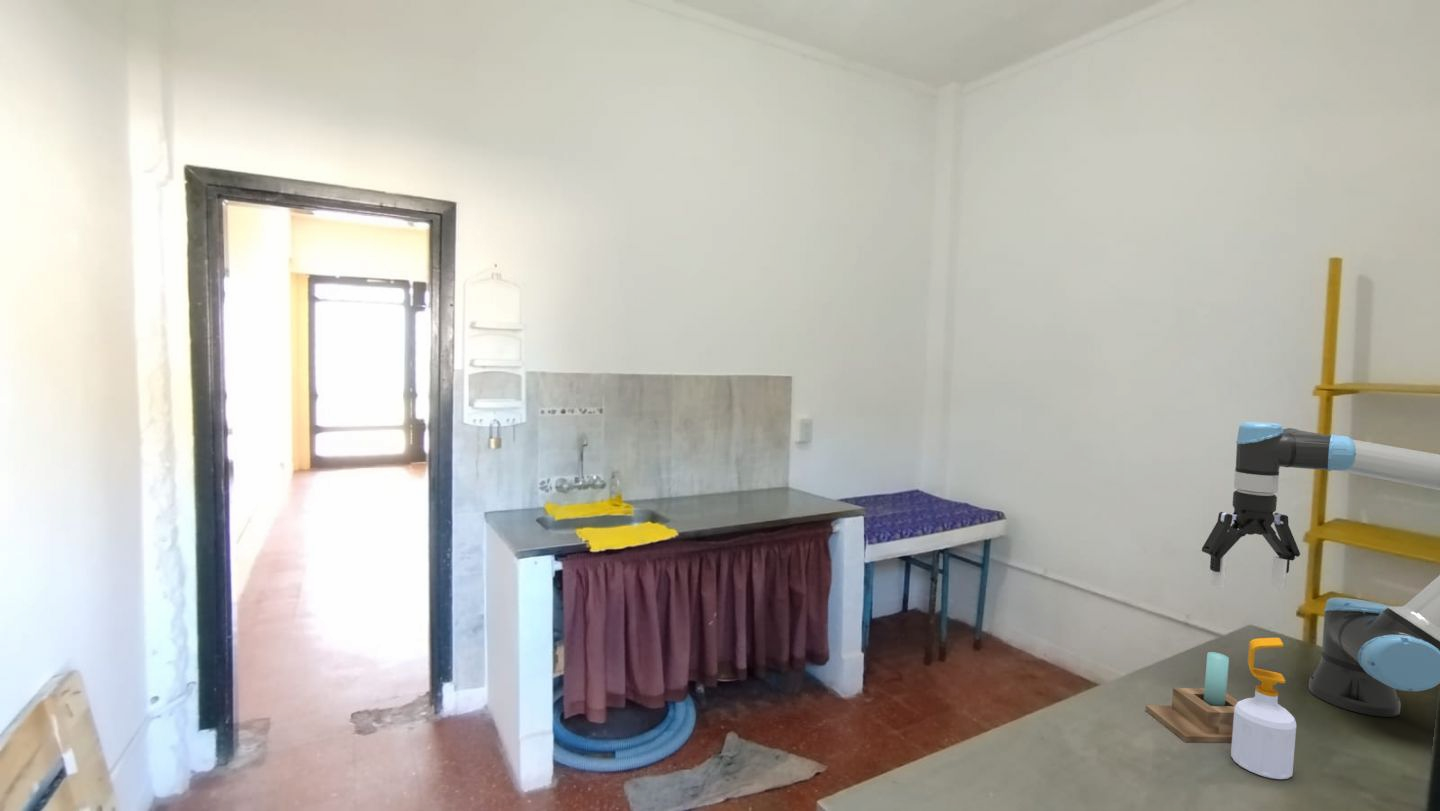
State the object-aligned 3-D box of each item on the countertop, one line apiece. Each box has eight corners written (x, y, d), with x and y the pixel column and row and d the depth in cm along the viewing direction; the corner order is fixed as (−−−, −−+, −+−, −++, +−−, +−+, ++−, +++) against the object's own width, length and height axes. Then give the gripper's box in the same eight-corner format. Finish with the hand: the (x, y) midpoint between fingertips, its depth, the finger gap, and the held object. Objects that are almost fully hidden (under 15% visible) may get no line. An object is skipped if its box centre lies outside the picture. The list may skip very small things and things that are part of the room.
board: (1235, 711, 144) (1237, 686, 144) (1283, 743, 132) (1285, 715, 132) (1145, 710, 144) (1147, 685, 144) (1185, 742, 132) (1187, 714, 132)
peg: (1214, 716, 140) (1220, 652, 139) (1227, 725, 136) (1233, 660, 135) (1197, 715, 140) (1203, 651, 139) (1210, 725, 136) (1216, 659, 135)
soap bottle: (1297, 786, 119) (1308, 653, 117) (1233, 769, 123) (1243, 641, 122) (1287, 762, 126) (1297, 636, 125) (1227, 746, 131) (1236, 625, 129)
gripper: (1295, 489, 149) (1288, 581, 151) (1186, 487, 149) (1180, 579, 150) (1326, 496, 142) (1318, 593, 143) (1212, 494, 142) (1205, 591, 143)
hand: (1247, 586), depth 147 cm, fingers open, 13 cm apart
